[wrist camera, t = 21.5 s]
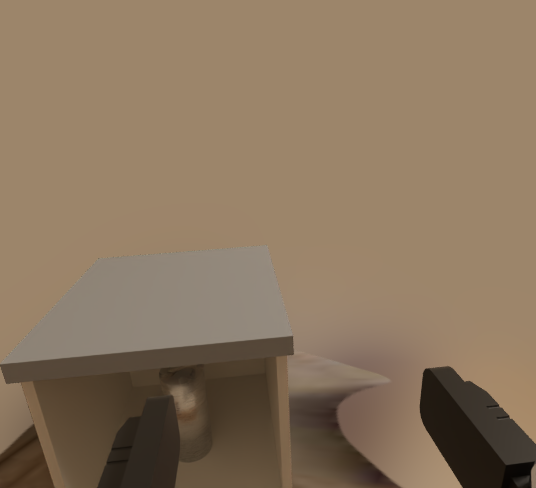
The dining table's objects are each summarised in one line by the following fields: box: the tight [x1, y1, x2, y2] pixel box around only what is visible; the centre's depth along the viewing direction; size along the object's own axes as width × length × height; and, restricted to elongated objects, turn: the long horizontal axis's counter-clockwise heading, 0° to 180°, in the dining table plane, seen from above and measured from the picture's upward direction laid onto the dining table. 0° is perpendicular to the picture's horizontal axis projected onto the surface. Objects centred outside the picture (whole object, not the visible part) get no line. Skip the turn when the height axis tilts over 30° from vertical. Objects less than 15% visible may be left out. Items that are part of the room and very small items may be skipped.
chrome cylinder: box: [159, 364, 213, 463], centre depth 48 cm, size 5×5×12 cm
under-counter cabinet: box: [0, 245, 294, 488], centre depth 48 cm, size 25×25×24 cm
